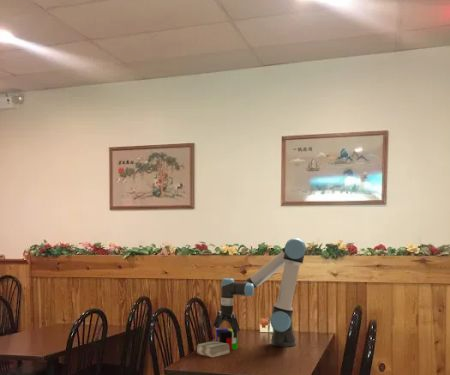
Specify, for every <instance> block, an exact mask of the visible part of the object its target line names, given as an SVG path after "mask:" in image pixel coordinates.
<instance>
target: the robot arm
mask: <svg viewBox="0 0 450 375" xmlns="http://www.w3.org/2000/svg"><path fill="white" fill-rule="evenodd" d="M306 246H307V245H306V243H305V242H304V240H302V239H301V238H298V237H297V238H296V237H293V238H290V239H289V240H287V241H286V243H285V244H284V247H283V248H281V251H280V252H279V253H278V254H277V255H276V256H274V257H273V258H272V259H270V261H268V262H267V263H266V264H264V265H263V266H262V267H261V268H259V269H258V270H257V271H255V273H253V274H252V275H251V276H250V277H247V279H246V280H244V281H243V282H236V281H235V279H234V278H229V277H228V278H227V277H226V278H222V280H221V286H220V287H221V289H220V292H221V293H220V311H217V313H216V316H215V320H214V321H213V324H212V327H215V330H214V331H215V333H216V330H218V329H221V326H222V324H223V323H224V321H225V322H228V324H229V326H230V329H232V330H233V332H232V344H234V343H236V338H237V339H238V332H240V331H241V329H240V326H239V322H238V319H237V314H233V312H234V296H243V297H252V296H254V293H255V290H256V289H257V287H259V286H261V284H263V283H264V282H265V281H267V280H268V279H269V278H271V276H273V275H274V274H276V273H277V272H278V271H279V270H281V269H282V268H283V271H282V276H281V281H280V286H279V291H278V295H277V299H276V300H277V301H276V303H274V304H273V306H272V311H271V312H272V313H271V315H270V317H269V322H270V325H271V327H272V330H273V331H272V335H271V339H270V345H271V346H275V347H282V348H283V347H287V348H288V347H293V346H296V345H297V340H296V337H295V334H294V330H293V329H294V328H293V314H294V308H293V299H294V296H295V291H296V284H297V280H298V275H299V269H300V266H301V265H303V264H304V259H305V253H306V250H307V247H306Z"/></svg>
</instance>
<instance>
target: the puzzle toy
mask: <svg viewBox="0 0 450 375" xmlns="http://www.w3.org/2000/svg"><path fill="white" fill-rule="evenodd" d="M215 331H216V332H215V341H217V342H222V343H227V344H229V350H230V351H231V350H237V349H238V337H237V338H236V343H234V344H232V332H233V330H232V328H220V329H218V330H216V329H215Z"/></svg>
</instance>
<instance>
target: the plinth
mask: <svg viewBox="0 0 450 375" xmlns="http://www.w3.org/2000/svg"><path fill="white" fill-rule="evenodd" d="M230 351H231V350H229V344H227V343H222V342H217V341H216V340H211V341H207V342H202V343H198V344H197V346H196V353H198V354H197V355H201V356H205V357H210V358H215V357H219V356H223V355H227V354H230V353H231V352H230Z"/></svg>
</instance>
